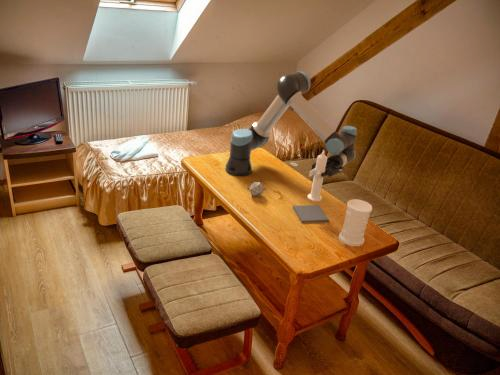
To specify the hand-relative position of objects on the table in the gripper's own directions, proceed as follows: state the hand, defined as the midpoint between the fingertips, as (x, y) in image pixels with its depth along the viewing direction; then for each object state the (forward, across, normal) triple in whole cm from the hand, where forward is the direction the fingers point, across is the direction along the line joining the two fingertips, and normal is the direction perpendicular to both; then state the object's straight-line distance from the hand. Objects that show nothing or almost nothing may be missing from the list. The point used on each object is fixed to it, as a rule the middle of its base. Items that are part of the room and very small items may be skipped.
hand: (313, 175), depth 201 cm
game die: (-1, +31, -23) cm, 39 cm away
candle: (-5, 0, -14) cm, 15 cm away
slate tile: (-5, 0, -24) cm, 24 cm away
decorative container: (0, -24, -24) cm, 34 cm away
